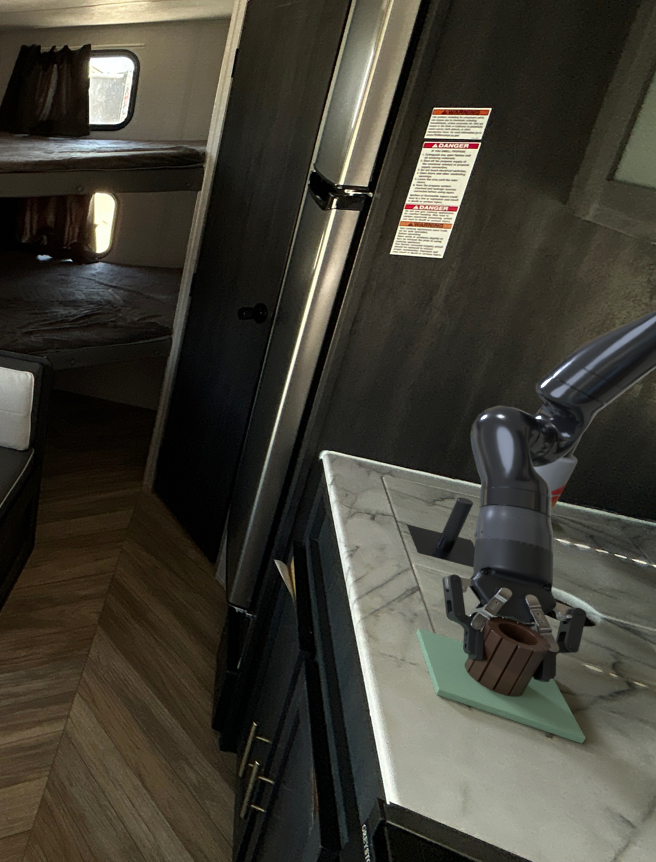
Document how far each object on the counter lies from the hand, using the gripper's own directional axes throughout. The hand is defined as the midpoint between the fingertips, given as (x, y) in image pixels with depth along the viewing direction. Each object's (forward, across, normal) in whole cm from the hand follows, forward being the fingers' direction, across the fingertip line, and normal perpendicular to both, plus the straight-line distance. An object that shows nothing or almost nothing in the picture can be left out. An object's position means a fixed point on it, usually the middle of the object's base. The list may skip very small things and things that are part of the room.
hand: (508, 669), depth 82 cm
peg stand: (-20, +1, +26) cm, 33 cm away
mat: (+2, 0, +4) cm, 5 cm away
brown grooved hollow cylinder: (+1, 0, +4) cm, 4 cm away
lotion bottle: (-33, +16, +39) cm, 53 cm away
